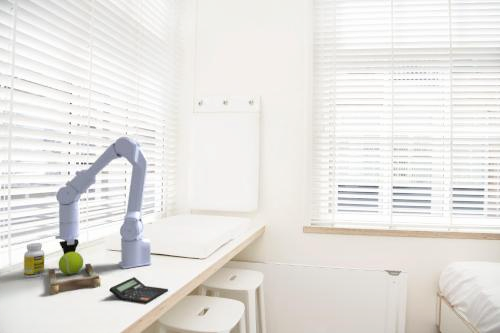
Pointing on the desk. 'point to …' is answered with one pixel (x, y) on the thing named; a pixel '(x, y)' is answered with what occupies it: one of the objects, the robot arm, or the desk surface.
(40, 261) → the supplement bottle
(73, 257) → the tennis ball
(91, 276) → the level stand
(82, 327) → the desk surface
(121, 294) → the calculator
